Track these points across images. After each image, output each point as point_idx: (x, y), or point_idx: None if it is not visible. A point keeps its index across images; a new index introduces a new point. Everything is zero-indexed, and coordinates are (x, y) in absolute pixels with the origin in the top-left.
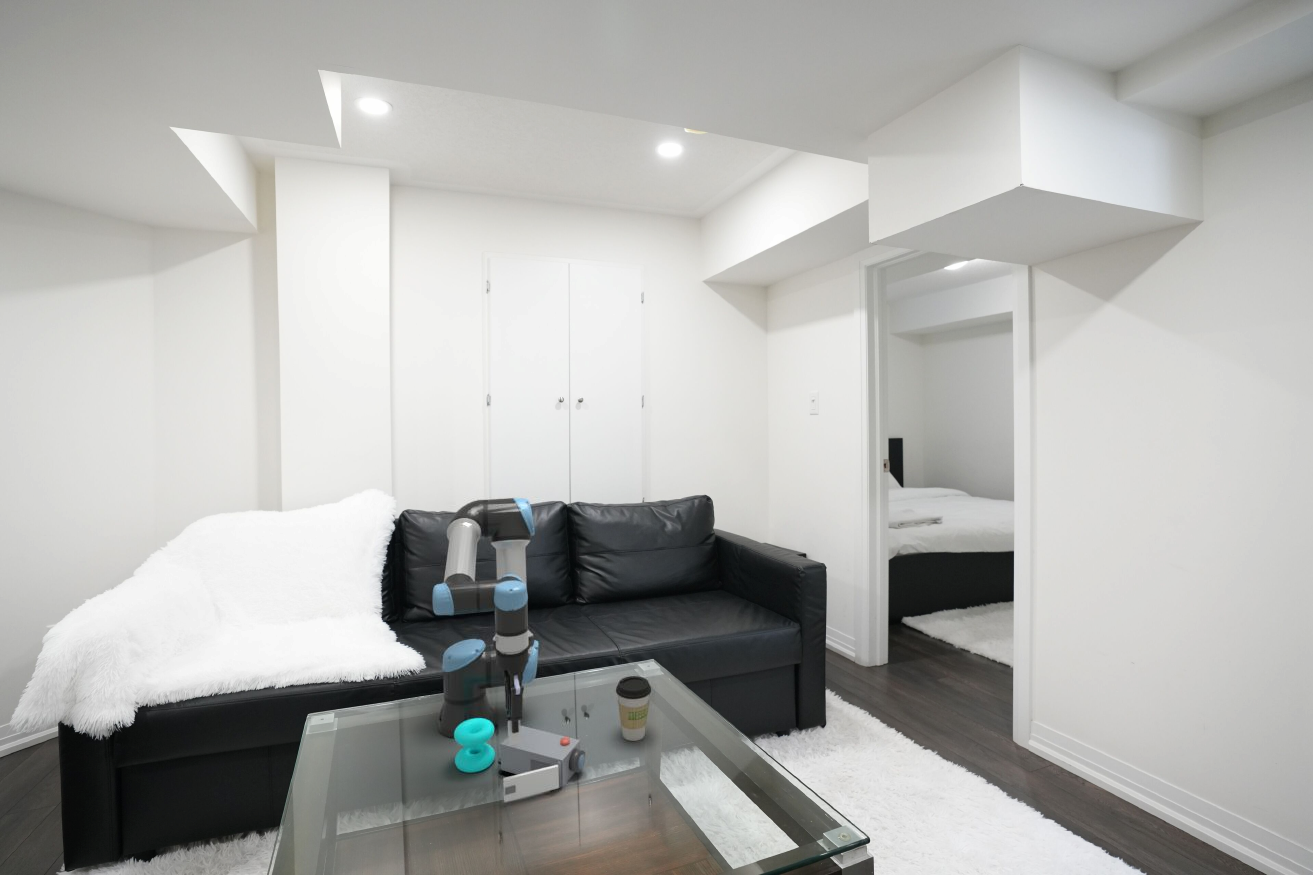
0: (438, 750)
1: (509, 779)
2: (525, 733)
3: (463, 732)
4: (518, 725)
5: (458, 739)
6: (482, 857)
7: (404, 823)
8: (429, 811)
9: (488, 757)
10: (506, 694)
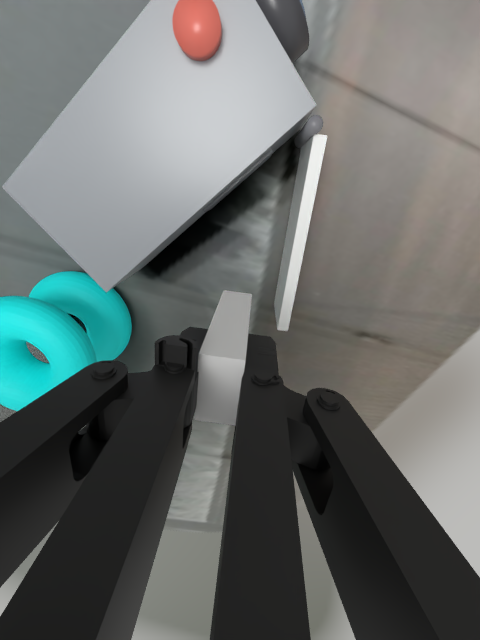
0: None
1: (290, 314)
2: (65, 187)
3: None
4: (276, 359)
5: None
6: (401, 380)
7: (229, 457)
8: None
9: (106, 302)
10: (40, 534)
